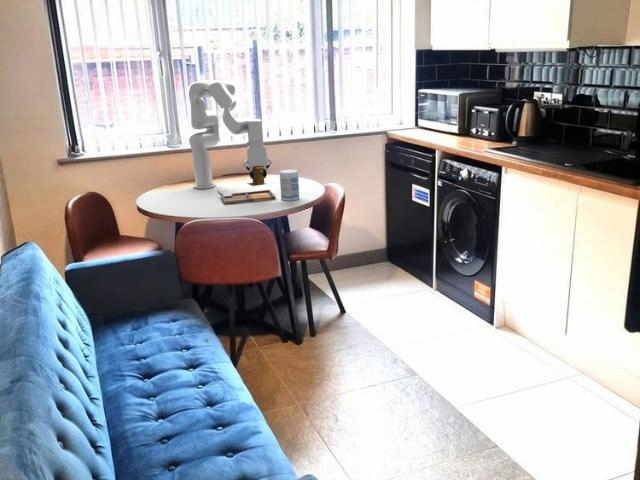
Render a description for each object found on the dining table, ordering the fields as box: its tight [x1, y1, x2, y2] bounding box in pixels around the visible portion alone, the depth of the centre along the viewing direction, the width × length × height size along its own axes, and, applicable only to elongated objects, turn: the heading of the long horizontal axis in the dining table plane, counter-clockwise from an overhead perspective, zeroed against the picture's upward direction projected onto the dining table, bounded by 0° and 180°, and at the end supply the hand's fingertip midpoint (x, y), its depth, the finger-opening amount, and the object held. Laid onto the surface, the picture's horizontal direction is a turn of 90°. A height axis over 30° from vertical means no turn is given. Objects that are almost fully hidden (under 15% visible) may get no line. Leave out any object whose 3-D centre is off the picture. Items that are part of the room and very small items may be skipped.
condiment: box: [246, 166, 268, 187], centre depth 309 cm, size 7×8×12 cm
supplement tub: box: [279, 169, 300, 202], centre depth 305 cm, size 10×10×15 cm
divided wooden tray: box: [220, 189, 276, 206], centre depth 311 cm, size 16×26×2 cm, turn 105°
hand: (258, 177), depth 310 cm, fingers closed on condiment, 6 cm apart
